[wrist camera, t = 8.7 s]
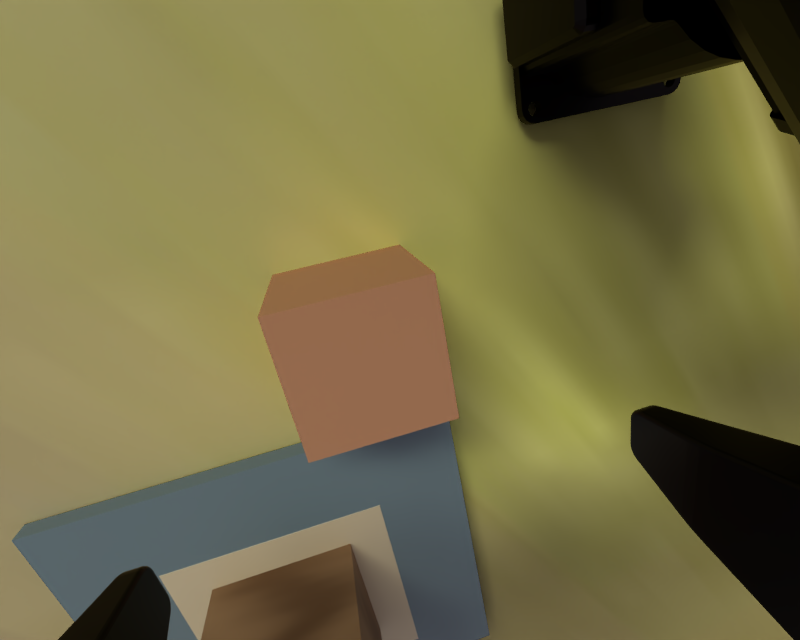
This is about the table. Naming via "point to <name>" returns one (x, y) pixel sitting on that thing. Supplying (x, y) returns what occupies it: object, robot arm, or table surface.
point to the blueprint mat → (284, 534)
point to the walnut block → (296, 603)
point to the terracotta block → (359, 350)
